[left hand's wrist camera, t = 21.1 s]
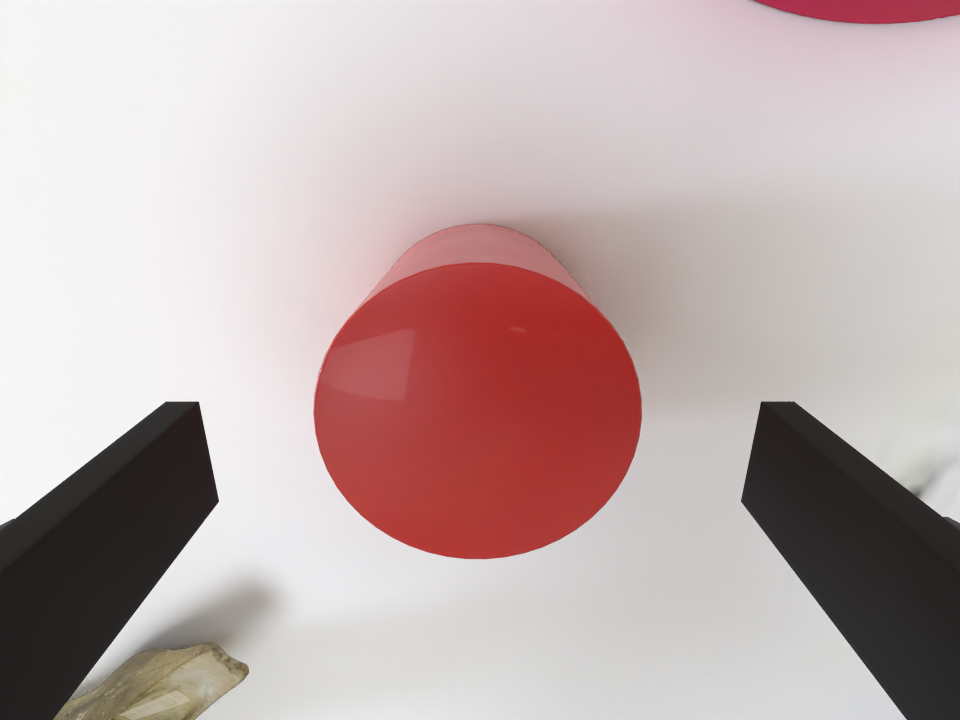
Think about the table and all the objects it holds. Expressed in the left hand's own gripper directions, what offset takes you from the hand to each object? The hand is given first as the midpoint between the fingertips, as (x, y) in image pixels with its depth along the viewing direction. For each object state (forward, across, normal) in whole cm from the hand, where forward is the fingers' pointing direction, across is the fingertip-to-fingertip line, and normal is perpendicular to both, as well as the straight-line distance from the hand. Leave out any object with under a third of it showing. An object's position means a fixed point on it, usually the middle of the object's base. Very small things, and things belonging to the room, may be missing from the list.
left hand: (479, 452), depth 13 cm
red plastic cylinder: (+11, 0, 0) cm, 11 cm away
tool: (+11, +21, +21) cm, 32 cm away
